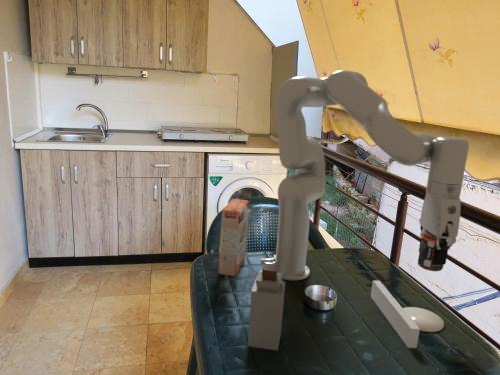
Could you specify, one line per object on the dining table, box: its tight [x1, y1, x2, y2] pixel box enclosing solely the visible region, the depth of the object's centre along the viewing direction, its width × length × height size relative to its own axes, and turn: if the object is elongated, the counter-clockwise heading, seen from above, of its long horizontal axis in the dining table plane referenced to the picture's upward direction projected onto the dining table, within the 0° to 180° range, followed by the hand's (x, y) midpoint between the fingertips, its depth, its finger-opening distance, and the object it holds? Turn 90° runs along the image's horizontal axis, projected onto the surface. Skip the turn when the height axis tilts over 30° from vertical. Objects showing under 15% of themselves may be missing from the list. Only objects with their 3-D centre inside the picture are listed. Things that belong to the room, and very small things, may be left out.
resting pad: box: [402, 306, 445, 333], centre depth 107 cm, size 11×11×1 cm
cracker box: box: [217, 198, 250, 277], centre depth 129 cm, size 14×6×21 cm, turn 168°
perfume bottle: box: [247, 264, 286, 351], centre depth 93 cm, size 7×7×18 cm
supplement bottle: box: [417, 230, 445, 272], centre depth 102 cm, size 6×6×11 cm
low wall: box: [370, 280, 420, 349], centre depth 106 cm, size 2×24×5 cm, turn 5°
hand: (431, 257), depth 103 cm, fingers closed on supplement bottle, 6 cm apart
